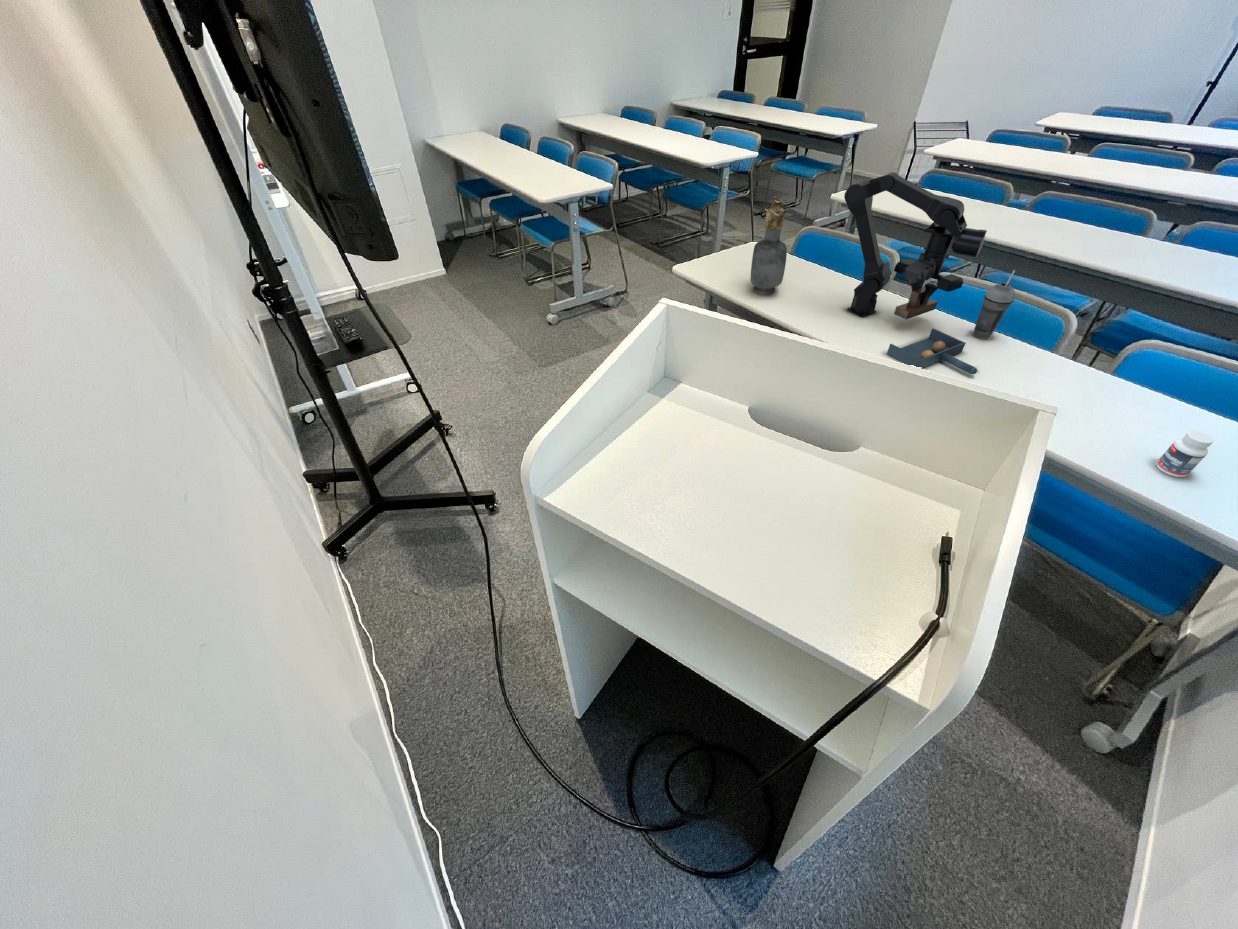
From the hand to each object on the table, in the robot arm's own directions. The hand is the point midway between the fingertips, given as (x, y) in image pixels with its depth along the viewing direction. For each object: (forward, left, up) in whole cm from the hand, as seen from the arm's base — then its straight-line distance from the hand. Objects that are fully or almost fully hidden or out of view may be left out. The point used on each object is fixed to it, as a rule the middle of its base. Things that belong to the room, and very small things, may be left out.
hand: (917, 302), depth 159 cm
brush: (0, 0, -3) cm, 3 cm away
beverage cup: (+16, +11, -7) cm, 21 cm away
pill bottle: (+73, -10, -7) cm, 74 cm away
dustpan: (+19, -12, -7) cm, 24 cm away
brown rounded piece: (+16, -8, -5) cm, 19 cm away
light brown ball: (+18, -15, -5) cm, 24 cm away
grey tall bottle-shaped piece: (-45, -20, -7) cm, 50 cm away
